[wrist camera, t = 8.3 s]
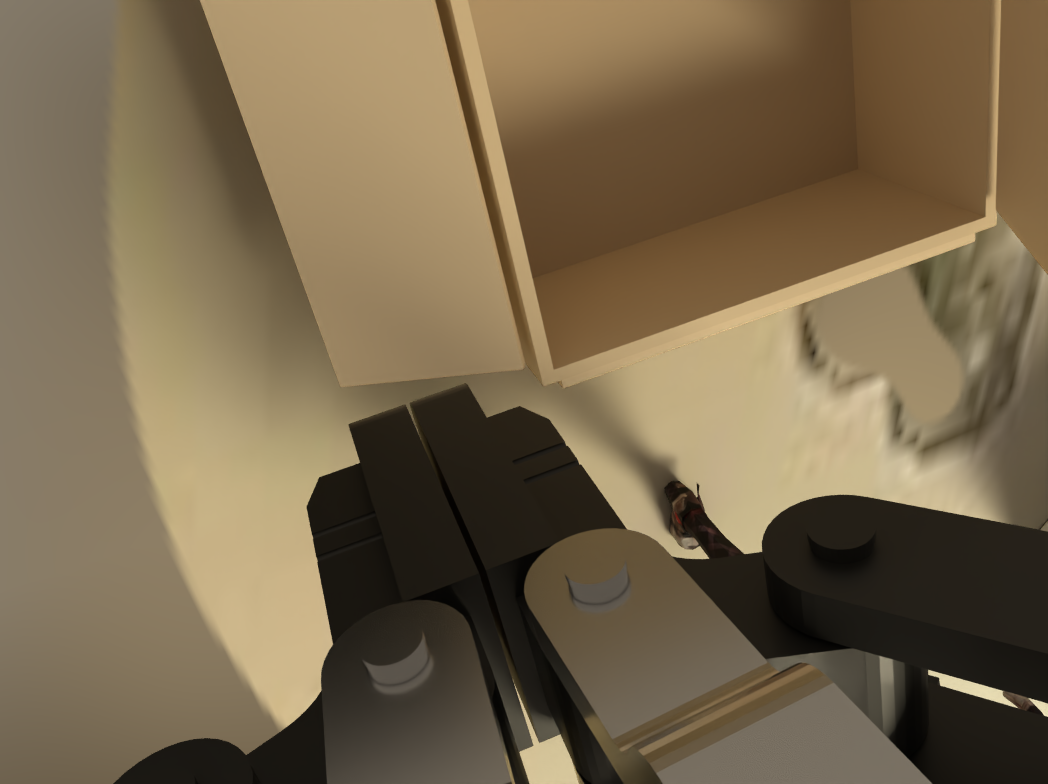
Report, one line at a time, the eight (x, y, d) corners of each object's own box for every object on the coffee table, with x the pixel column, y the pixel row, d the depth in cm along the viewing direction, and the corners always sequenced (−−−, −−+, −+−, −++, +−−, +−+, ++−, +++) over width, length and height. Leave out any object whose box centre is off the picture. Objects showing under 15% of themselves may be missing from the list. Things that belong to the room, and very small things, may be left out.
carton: (838, -297, 29) (1012, -353, 23) (860, 183, 36) (996, 237, 30) (351, -177, 26) (400, -205, 20) (481, 312, 33) (546, 398, 27)
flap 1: (397, -135, 21) (171, -79, 22) (523, 369, 27) (340, 387, 28) (401, -136, 21) (177, -80, 22) (525, 364, 27) (344, 381, 29)
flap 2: (1022, -294, 23) (1117, -317, 18) (1006, 207, 29) (1073, 288, 24) (1008, -291, 23) (1099, -313, 18) (995, 209, 29) (1060, 290, 24)
